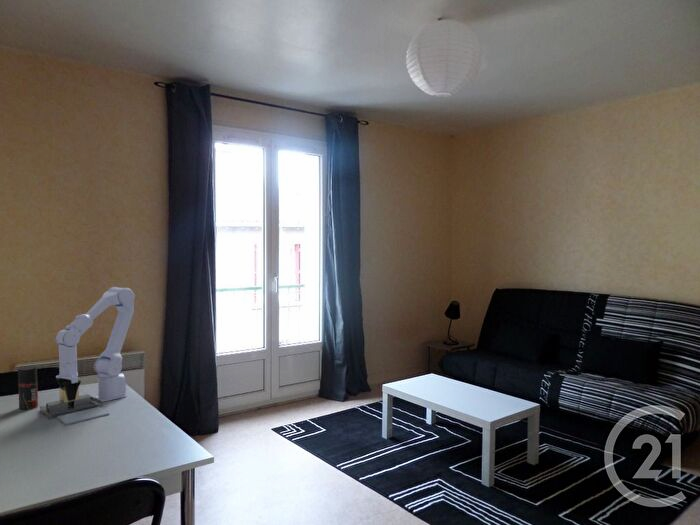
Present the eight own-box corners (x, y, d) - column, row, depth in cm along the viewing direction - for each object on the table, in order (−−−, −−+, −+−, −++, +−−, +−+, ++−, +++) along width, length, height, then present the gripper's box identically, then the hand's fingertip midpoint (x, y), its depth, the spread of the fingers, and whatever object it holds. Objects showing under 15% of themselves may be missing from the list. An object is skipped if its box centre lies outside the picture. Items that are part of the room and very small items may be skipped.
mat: (99, 408, 182) (99, 406, 182) (109, 414, 176) (109, 412, 175) (57, 418, 172) (57, 416, 172) (66, 425, 165) (66, 423, 165)
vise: (87, 400, 191) (86, 381, 191) (98, 407, 183) (97, 387, 183) (40, 410, 180) (39, 390, 180) (49, 418, 172) (49, 397, 171)
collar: (74, 396, 185) (74, 384, 185) (78, 399, 181) (78, 387, 181) (59, 399, 181) (59, 387, 181) (63, 402, 178) (63, 390, 178)
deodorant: (31, 410, 180) (29, 370, 180) (15, 410, 180) (13, 370, 180) (41, 405, 186) (40, 366, 186) (26, 405, 186) (24, 366, 186)
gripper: (50, 360, 183) (51, 396, 183) (62, 367, 173) (63, 405, 173) (70, 357, 188) (71, 392, 189) (83, 363, 178) (84, 400, 179)
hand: (69, 398), depth 181 cm, fingers closed on collar, 5 cm apart
